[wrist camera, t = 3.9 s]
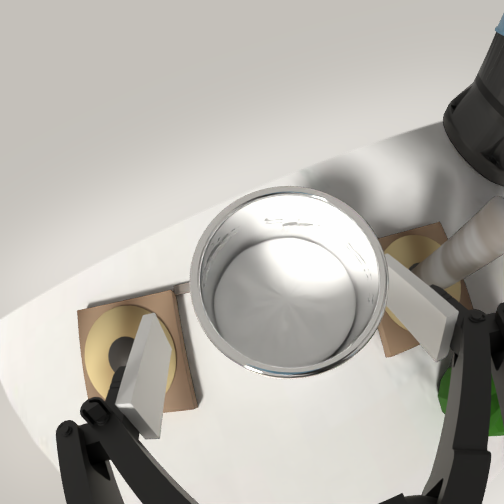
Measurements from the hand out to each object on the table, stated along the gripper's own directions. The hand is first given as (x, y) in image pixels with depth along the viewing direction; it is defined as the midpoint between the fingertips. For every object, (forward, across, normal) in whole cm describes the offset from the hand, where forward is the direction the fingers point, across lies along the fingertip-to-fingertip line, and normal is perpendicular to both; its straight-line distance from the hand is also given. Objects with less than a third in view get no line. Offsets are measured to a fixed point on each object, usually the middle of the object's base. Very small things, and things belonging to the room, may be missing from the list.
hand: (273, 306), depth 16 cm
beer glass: (+5, 0, -6) cm, 8 cm away
